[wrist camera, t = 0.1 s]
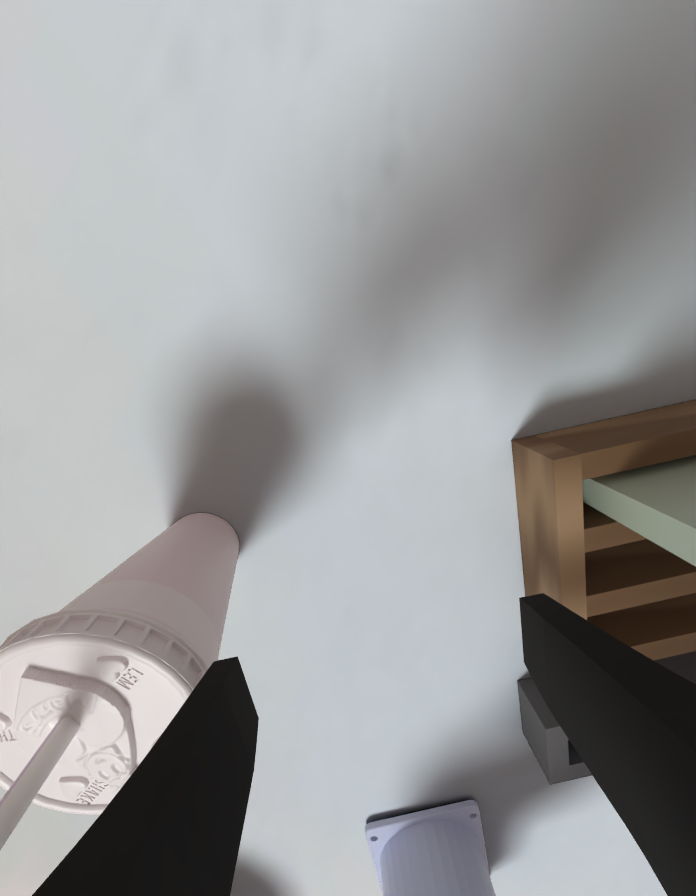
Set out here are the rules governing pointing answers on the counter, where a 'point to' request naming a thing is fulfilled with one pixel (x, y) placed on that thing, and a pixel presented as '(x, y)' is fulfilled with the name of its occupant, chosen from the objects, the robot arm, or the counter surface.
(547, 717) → the stand
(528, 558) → the rack
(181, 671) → the smoothie
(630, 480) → the thin sage green tile
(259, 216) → the counter surface
